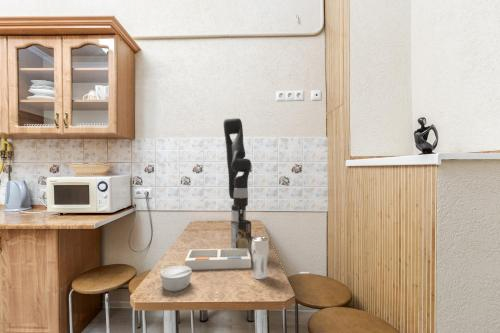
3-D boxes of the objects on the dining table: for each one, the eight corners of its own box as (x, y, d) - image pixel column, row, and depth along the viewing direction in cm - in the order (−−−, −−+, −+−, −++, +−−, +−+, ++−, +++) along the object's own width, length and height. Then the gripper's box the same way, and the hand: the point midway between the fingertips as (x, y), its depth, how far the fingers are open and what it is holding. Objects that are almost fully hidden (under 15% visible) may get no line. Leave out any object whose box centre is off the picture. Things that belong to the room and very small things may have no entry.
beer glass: (250, 273, 102) (250, 236, 103) (267, 272, 103) (267, 236, 103) (252, 280, 95) (252, 241, 96) (269, 279, 96) (270, 241, 96)
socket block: (190, 257, 119) (190, 249, 120) (248, 256, 122) (248, 247, 122) (184, 270, 105) (184, 259, 105) (250, 267, 108) (251, 258, 108)
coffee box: (246, 249, 133) (246, 219, 134) (251, 252, 128) (251, 221, 128) (230, 251, 129) (230, 220, 129) (235, 255, 124) (235, 223, 124)
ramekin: (183, 294, 85) (183, 278, 85) (153, 291, 87) (154, 276, 87) (196, 280, 96) (196, 266, 96) (169, 277, 98) (169, 264, 98)
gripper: (233, 195, 136) (233, 224, 135) (233, 197, 122) (233, 230, 121) (247, 195, 136) (246, 224, 136) (248, 197, 122) (248, 230, 122)
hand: (240, 227), depth 128 cm, fingers open, 8 cm apart
